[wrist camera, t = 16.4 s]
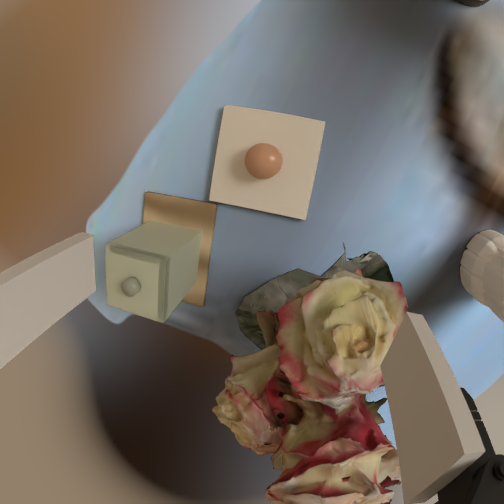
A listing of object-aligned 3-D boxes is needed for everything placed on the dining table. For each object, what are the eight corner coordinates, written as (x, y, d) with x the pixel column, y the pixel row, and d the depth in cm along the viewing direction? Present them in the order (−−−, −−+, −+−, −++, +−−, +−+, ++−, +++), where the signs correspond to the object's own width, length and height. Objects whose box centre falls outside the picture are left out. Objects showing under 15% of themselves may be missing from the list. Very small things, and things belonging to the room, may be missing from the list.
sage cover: (151, 220, 42) (99, 247, 30) (202, 230, 42) (161, 264, 29) (149, 269, 45) (102, 308, 33) (196, 281, 44) (159, 328, 32)
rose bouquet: (370, 215, 38) (490, 352, 10) (409, 371, 44) (451, 518, 16) (203, 278, 45) (89, 432, 17) (276, 408, 51) (250, 551, 23)
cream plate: (226, 106, 36) (219, 101, 33) (324, 122, 35) (327, 119, 32) (211, 199, 41) (203, 203, 37) (305, 218, 39) (305, 224, 36)
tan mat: (147, 191, 42) (145, 192, 41) (217, 204, 41) (216, 204, 40) (142, 287, 47) (140, 289, 47) (204, 305, 46) (203, 306, 46)
